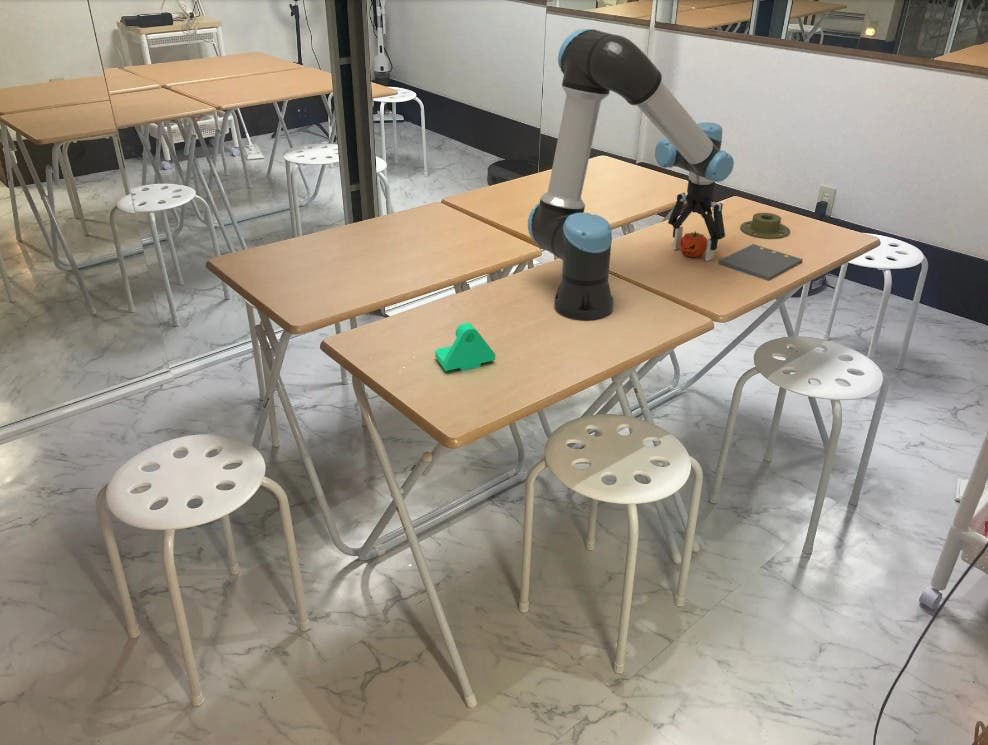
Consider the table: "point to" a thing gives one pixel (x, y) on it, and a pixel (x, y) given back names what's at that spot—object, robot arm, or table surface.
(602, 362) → the table surface
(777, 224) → the flange
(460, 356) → the camera mount
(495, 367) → the table surface
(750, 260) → the mat
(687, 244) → the pumpkin
